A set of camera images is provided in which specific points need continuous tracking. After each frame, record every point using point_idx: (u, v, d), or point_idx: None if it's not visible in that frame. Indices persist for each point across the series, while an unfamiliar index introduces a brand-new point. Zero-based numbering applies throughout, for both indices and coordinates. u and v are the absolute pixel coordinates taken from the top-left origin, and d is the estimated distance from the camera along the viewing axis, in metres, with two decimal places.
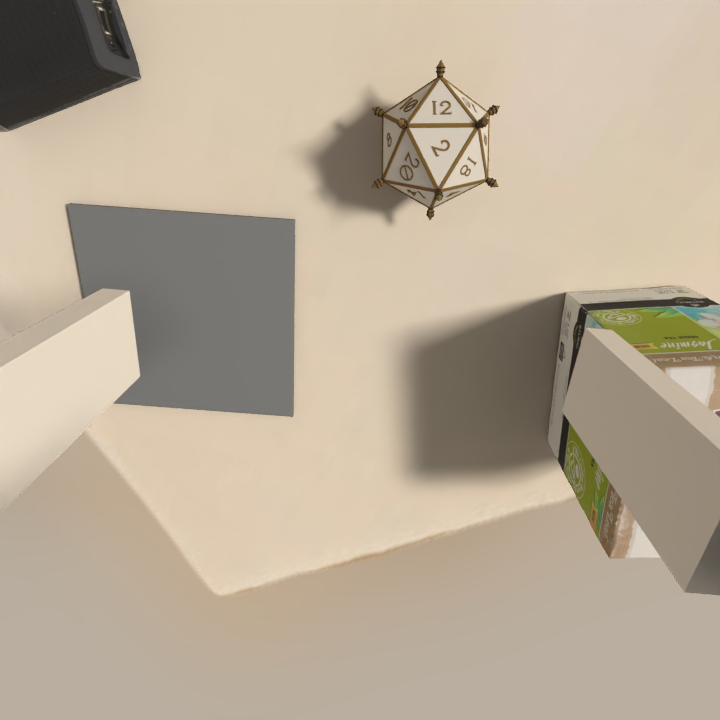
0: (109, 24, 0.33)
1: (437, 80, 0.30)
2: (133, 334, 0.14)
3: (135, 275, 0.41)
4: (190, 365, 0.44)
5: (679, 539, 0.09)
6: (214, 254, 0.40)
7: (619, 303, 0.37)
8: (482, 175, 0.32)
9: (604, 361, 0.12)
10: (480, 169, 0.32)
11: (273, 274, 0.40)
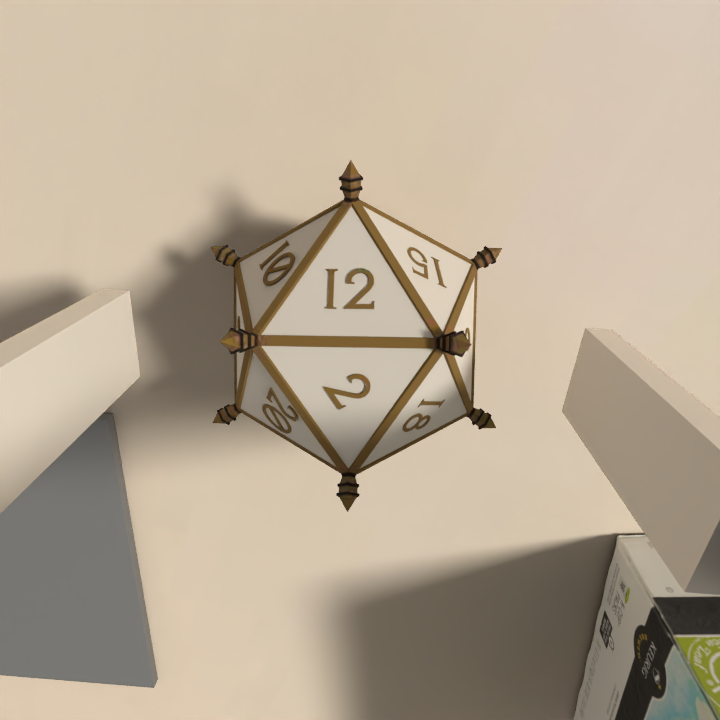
0: None
1: (344, 209, 0.12)
2: (133, 334, 0.14)
3: None
4: None
5: (679, 539, 0.09)
6: None
7: None
8: (459, 411, 0.14)
9: (603, 361, 0.12)
10: (454, 405, 0.13)
11: (85, 500, 0.22)
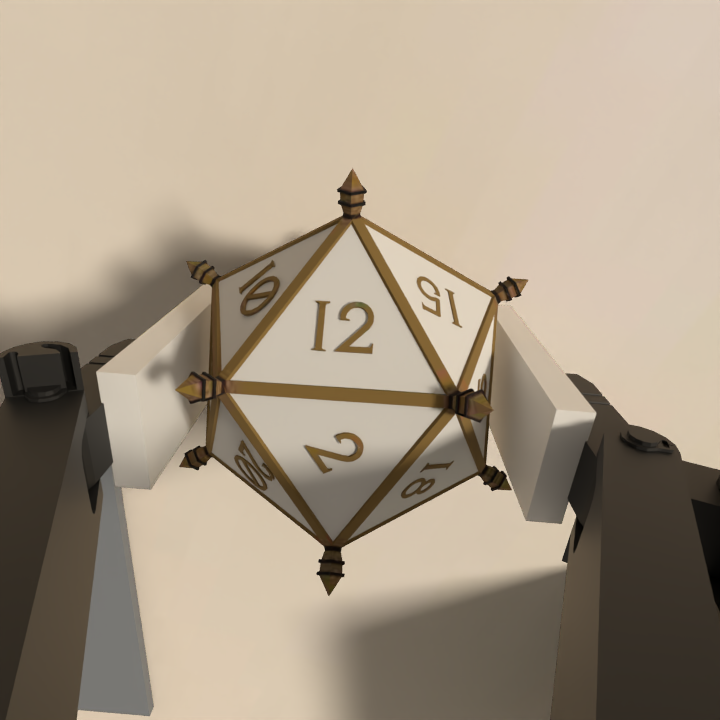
0: None
1: (342, 228, 0.10)
2: None
3: None
4: None
5: (525, 476, 0.10)
6: None
7: None
8: (470, 471, 0.12)
9: None
10: (464, 465, 0.11)
11: None
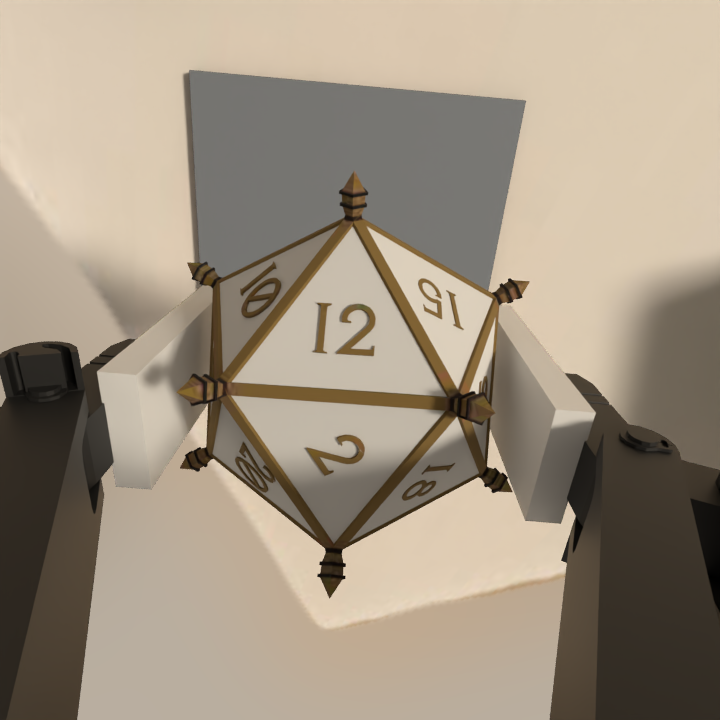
0: None
1: (343, 230, 0.10)
2: None
3: (276, 185, 0.28)
4: None
5: (525, 476, 0.10)
6: (397, 153, 0.27)
7: None
8: (470, 473, 0.12)
9: None
10: (465, 467, 0.11)
11: (479, 186, 0.28)
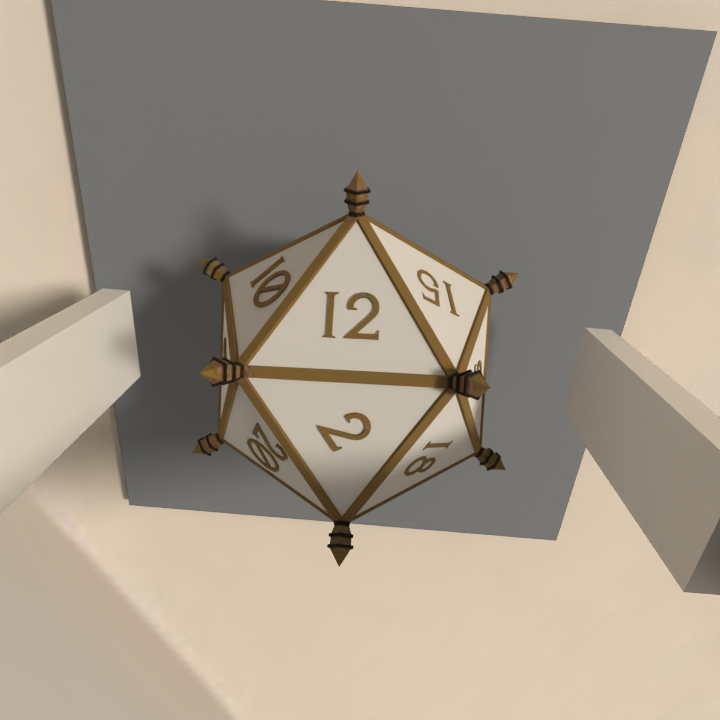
0: None
1: (347, 225, 0.10)
2: (133, 334, 0.14)
3: (230, 202, 0.15)
4: None
5: (679, 539, 0.09)
6: (456, 141, 0.14)
7: None
8: (467, 452, 0.12)
9: (603, 361, 0.12)
10: (462, 446, 0.12)
11: (607, 200, 0.15)
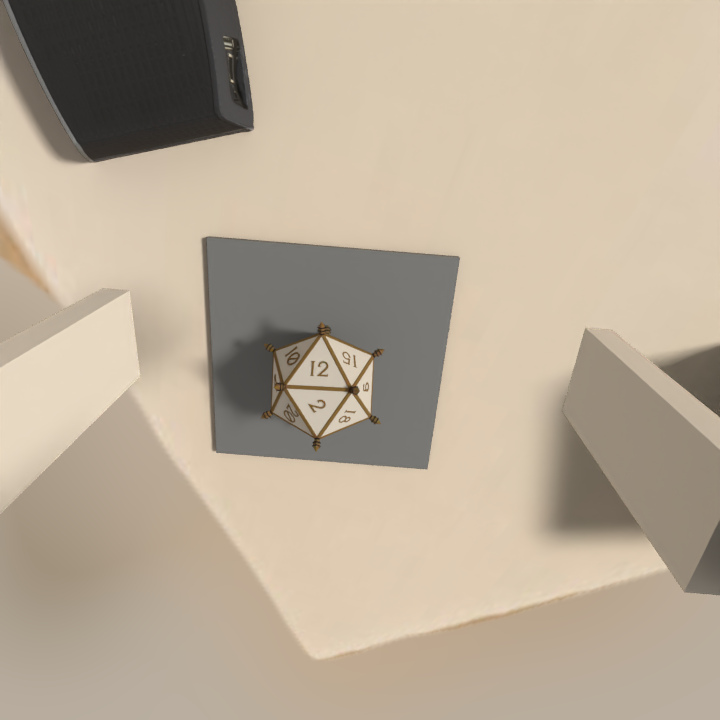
0: (234, 71, 0.30)
1: (318, 338, 0.32)
2: (133, 334, 0.14)
3: (272, 315, 0.36)
4: None
5: (679, 539, 0.09)
6: (365, 293, 0.36)
7: None
8: (364, 416, 0.34)
9: (604, 361, 0.12)
10: (361, 413, 0.33)
11: (428, 316, 0.36)
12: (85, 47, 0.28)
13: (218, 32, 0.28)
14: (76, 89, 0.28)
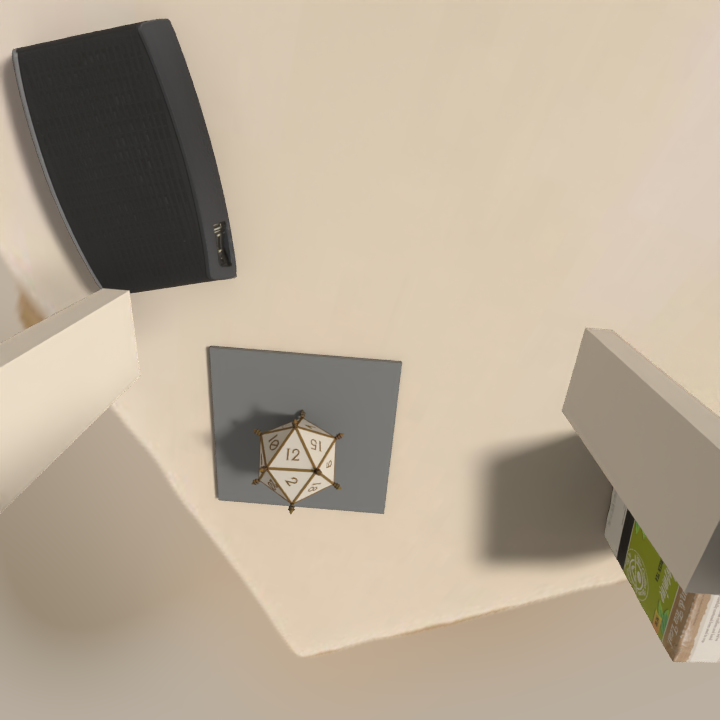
0: (221, 242, 0.41)
1: (292, 430, 0.43)
2: (133, 334, 0.14)
3: (260, 402, 0.48)
4: None
5: (679, 539, 0.09)
6: (330, 387, 0.47)
7: None
8: (328, 484, 0.45)
9: (604, 361, 0.12)
10: (325, 483, 0.44)
11: (379, 403, 0.47)
12: (114, 234, 0.38)
13: (209, 224, 0.39)
14: (106, 259, 0.39)
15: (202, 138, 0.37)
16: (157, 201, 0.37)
